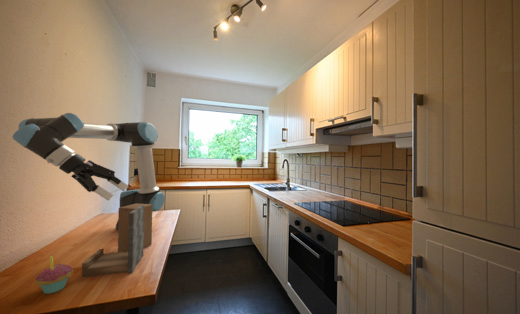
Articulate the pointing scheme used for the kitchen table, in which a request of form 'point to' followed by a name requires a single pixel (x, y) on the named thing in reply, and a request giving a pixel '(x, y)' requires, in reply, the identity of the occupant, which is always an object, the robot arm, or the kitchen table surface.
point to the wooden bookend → (119, 260)
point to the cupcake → (53, 277)
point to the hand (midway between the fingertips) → (118, 193)
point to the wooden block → (124, 225)
